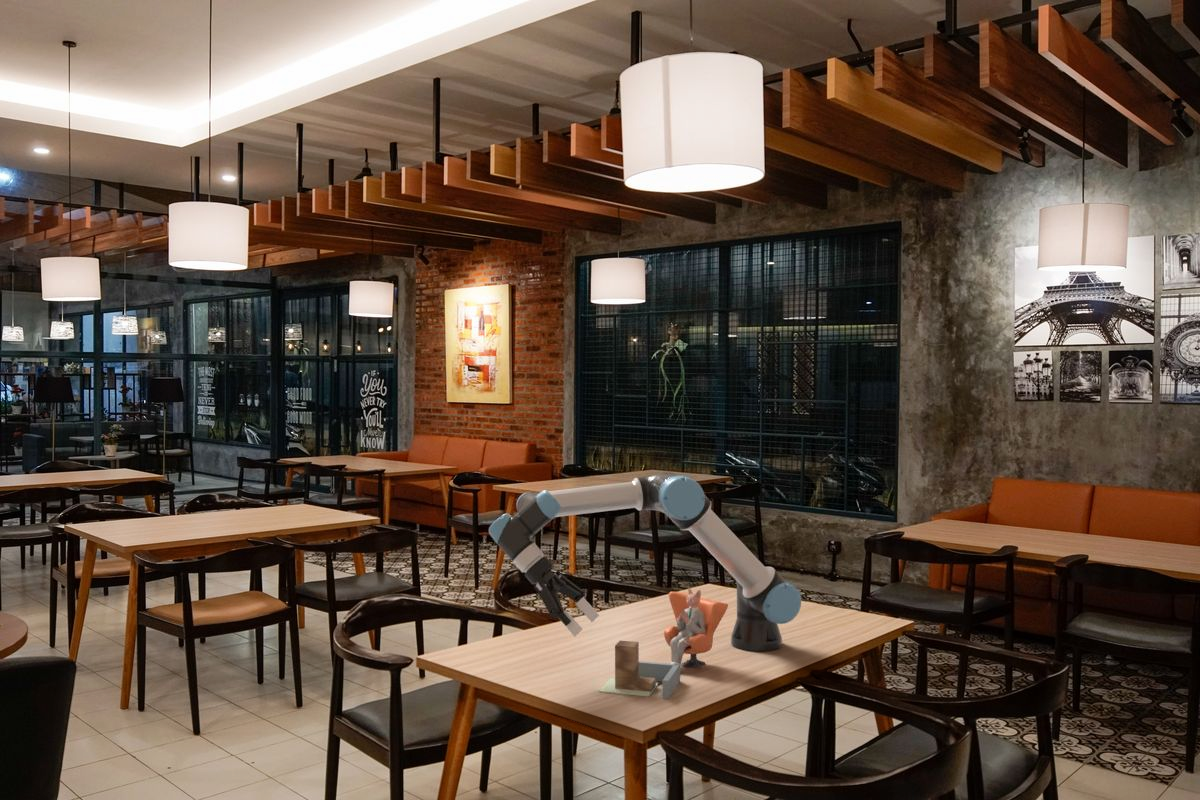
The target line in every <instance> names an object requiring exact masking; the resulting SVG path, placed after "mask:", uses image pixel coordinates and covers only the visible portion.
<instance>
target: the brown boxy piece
mask: <svg viewBox="0 0 1200 800" xmlns="http://www.w3.org/2000/svg"><path fill="white" fill-rule="evenodd" d="M639 646H640V645H639V641H630V640H618V642H616V644H615V645H614V678H615V689H626V690H637V691H649V692H652V690H653V689H654V687H655V686H656V682H657V681H656V678H650V677H639V661H640V660H639V659H640V658H639V655H640V654H639V653H640V652H639ZM654 690H655V689H654ZM652 693H653V692H652Z"/></svg>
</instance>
